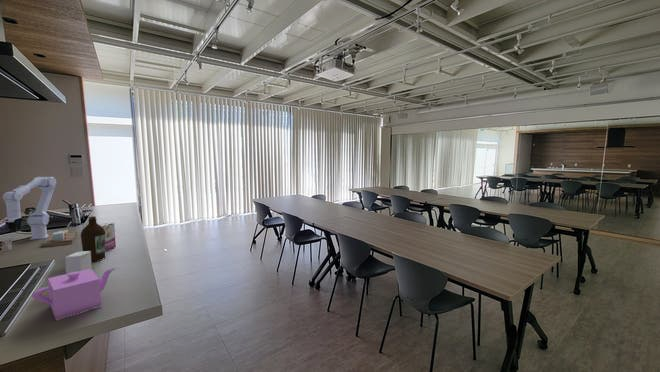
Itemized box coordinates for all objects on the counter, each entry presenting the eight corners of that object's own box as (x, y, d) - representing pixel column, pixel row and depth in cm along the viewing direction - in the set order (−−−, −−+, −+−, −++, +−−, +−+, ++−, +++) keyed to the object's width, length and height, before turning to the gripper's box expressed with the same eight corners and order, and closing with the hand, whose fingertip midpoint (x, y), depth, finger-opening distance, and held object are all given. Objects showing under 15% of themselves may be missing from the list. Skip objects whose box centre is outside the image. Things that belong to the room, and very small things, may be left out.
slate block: (54, 241, 183) (53, 232, 183) (64, 240, 186) (64, 231, 186) (52, 243, 179) (52, 234, 179) (63, 241, 182) (62, 233, 182)
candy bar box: (108, 247, 178) (107, 222, 176) (116, 247, 178) (114, 222, 176) (93, 252, 167) (91, 226, 165) (101, 253, 167) (99, 227, 165)
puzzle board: (50, 237, 193) (49, 231, 193) (76, 235, 202) (76, 229, 201) (42, 247, 174) (42, 240, 174) (72, 243, 183) (71, 237, 182)
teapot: (123, 300, 114) (121, 268, 113) (35, 327, 95) (32, 289, 93) (113, 288, 123) (111, 258, 122) (31, 311, 104) (29, 276, 103)
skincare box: (81, 288, 123) (79, 256, 121) (66, 289, 122) (63, 257, 120) (93, 280, 131) (91, 250, 130) (78, 280, 130) (76, 250, 128)
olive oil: (77, 262, 151) (74, 218, 149) (92, 255, 162) (90, 214, 159) (96, 263, 151) (94, 219, 149) (111, 256, 162) (109, 215, 160)
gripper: (7, 209, 178) (9, 229, 179) (0, 212, 166) (2, 234, 168) (23, 208, 182) (25, 227, 183) (17, 211, 171) (19, 232, 172)
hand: (15, 230), depth 176 cm, fingers open, 7 cm apart
